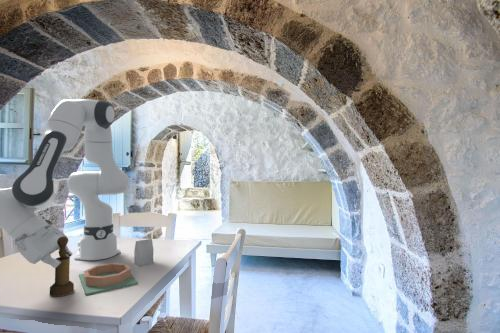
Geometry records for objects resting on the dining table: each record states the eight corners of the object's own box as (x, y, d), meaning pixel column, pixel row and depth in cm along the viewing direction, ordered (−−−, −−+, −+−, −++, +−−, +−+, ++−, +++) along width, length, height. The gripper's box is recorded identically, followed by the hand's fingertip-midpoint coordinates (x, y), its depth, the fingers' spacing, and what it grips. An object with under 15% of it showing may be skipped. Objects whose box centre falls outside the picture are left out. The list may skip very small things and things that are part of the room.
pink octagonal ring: (82, 276, 106) (82, 268, 106) (123, 268, 114) (124, 261, 114) (87, 289, 94) (87, 280, 94) (133, 280, 103) (133, 271, 103)
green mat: (78, 276, 107) (78, 274, 107) (124, 267, 117) (124, 266, 117) (85, 295, 91) (85, 293, 91) (138, 283, 101) (138, 282, 101)
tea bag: (153, 263, 123) (153, 239, 123) (137, 266, 119) (137, 242, 119) (149, 260, 126) (150, 238, 126) (134, 264, 122) (134, 240, 122)
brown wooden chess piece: (77, 288, 97) (78, 234, 97) (66, 296, 90) (67, 239, 90) (57, 288, 96) (58, 234, 97) (44, 296, 90) (45, 239, 90)
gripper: (20, 231, 82) (58, 264, 84) (53, 219, 102) (83, 245, 104) (2, 248, 81) (40, 280, 83) (38, 232, 101) (69, 258, 103)
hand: (64, 260), depth 94 cm, fingers open, 8 cm apart
